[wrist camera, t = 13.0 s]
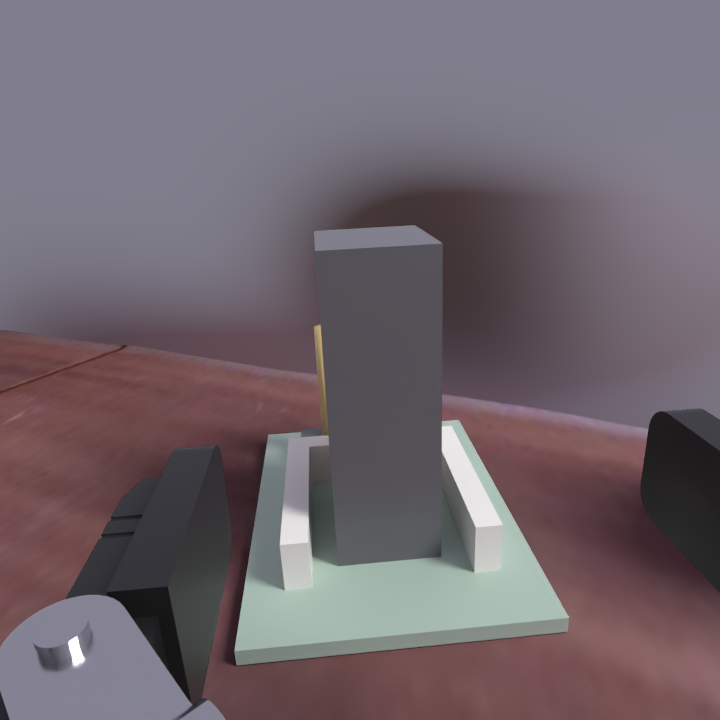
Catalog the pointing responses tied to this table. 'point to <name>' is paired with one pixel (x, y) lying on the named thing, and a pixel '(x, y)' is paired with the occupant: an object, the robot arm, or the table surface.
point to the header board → (383, 563)
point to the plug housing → (383, 389)
